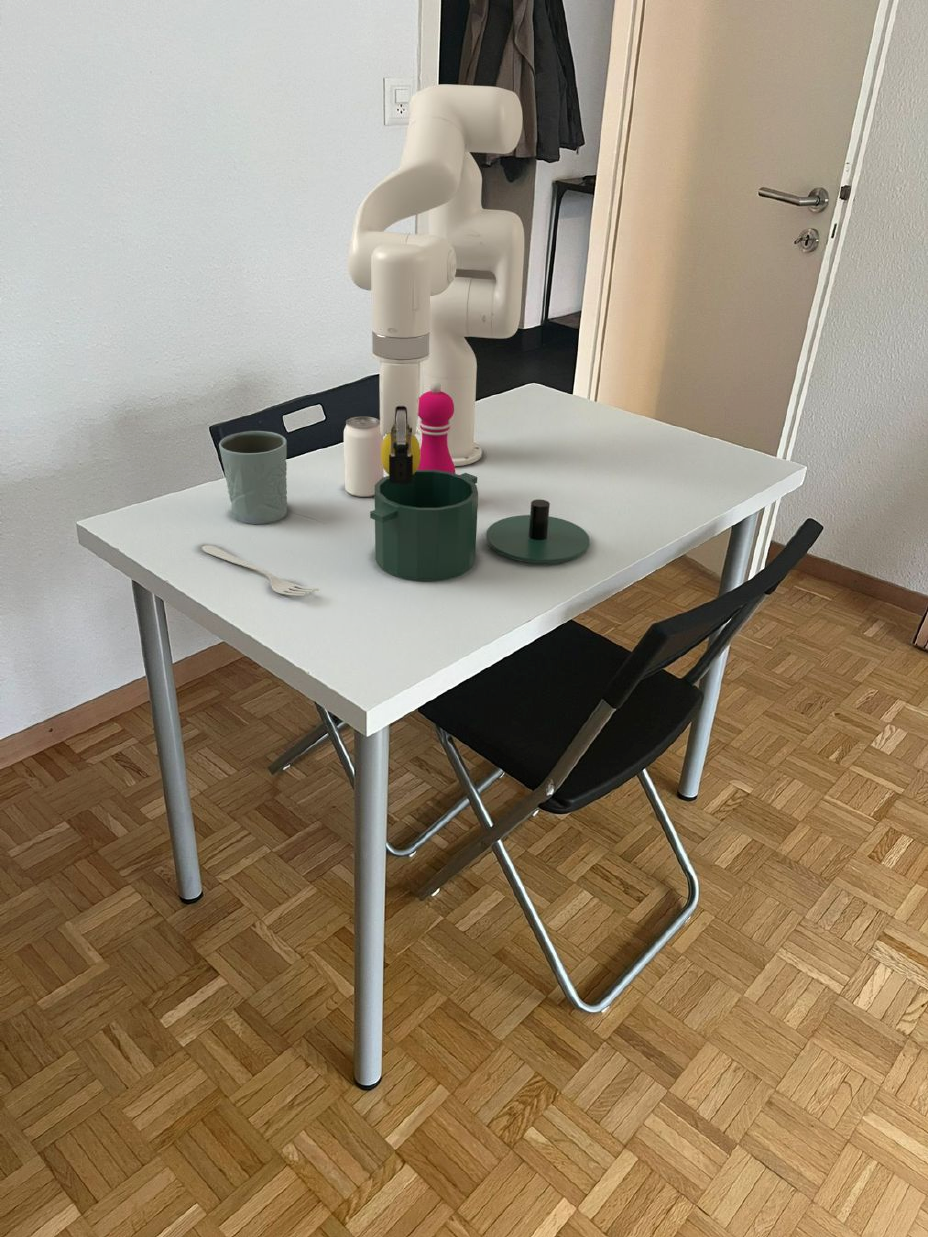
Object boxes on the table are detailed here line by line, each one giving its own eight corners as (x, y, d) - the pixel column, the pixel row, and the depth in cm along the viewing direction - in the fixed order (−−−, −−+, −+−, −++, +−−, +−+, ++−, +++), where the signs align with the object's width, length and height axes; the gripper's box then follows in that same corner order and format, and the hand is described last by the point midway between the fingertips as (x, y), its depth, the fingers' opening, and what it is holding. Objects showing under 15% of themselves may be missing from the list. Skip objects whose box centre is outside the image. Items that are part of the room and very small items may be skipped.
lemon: (414, 491, 135) (415, 435, 131) (376, 486, 136) (375, 431, 132) (424, 476, 140) (425, 422, 136) (387, 472, 141) (386, 418, 137)
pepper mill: (402, 499, 162) (403, 381, 152) (433, 488, 167) (435, 372, 157) (433, 513, 158) (436, 392, 148) (464, 500, 163) (468, 382, 153)
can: (353, 500, 161) (352, 430, 155) (339, 486, 166) (337, 418, 160) (389, 494, 164) (389, 425, 158) (374, 480, 169) (373, 413, 163)
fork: (212, 543, 146) (211, 532, 145) (321, 599, 132) (321, 587, 131) (194, 550, 144) (193, 539, 143) (303, 607, 130) (303, 596, 129)
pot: (341, 564, 141) (339, 494, 136) (433, 523, 155) (435, 457, 149) (415, 598, 133) (415, 525, 128) (505, 551, 147) (510, 483, 141)
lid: (464, 543, 149) (466, 503, 145) (527, 513, 159) (530, 474, 156) (548, 577, 140) (552, 535, 137) (608, 543, 151) (613, 502, 147)
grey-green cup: (300, 519, 154) (296, 446, 148) (238, 531, 150) (232, 457, 144) (276, 496, 162) (271, 426, 156) (217, 507, 157) (209, 436, 151)
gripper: (373, 327, 135) (375, 451, 144) (370, 363, 120) (372, 498, 130) (427, 328, 136) (425, 452, 145) (431, 364, 121) (429, 498, 130)
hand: (400, 472), depth 137 cm, fingers closed on lemon, 5 cm apart
